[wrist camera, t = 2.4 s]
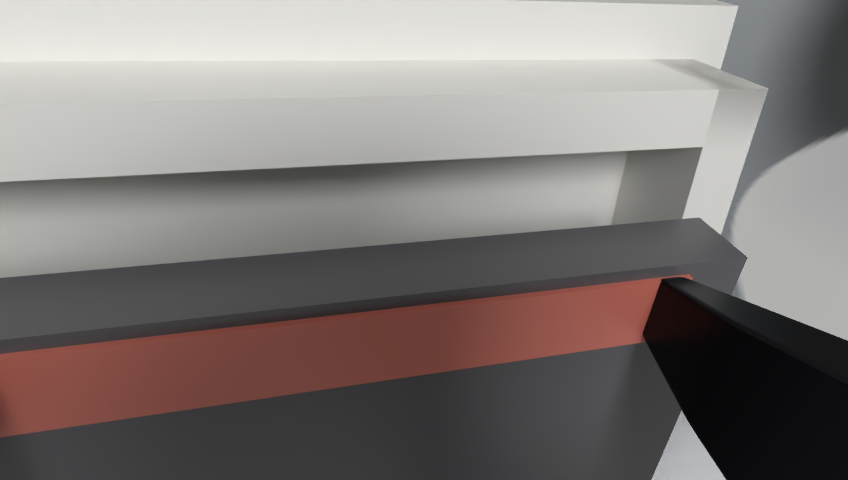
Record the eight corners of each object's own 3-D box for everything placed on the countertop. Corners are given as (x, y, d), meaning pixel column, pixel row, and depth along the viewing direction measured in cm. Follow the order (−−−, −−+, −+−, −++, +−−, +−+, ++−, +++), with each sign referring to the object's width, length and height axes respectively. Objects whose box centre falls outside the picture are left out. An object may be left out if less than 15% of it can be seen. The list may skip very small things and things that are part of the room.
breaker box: (523, 549, 25) (590, 689, 20) (44, 664, 20) (5, 874, 16) (647, -19, 15) (821, 28, 11) (-221, -50, 10) (-498, 10, 6)
